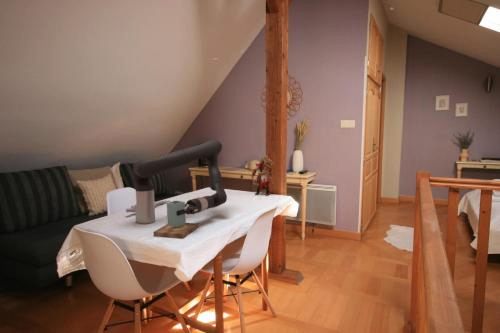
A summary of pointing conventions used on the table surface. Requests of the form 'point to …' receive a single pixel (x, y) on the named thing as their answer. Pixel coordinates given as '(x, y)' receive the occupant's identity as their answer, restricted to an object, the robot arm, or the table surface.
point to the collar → (175, 213)
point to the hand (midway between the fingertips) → (172, 212)
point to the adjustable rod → (154, 202)
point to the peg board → (176, 230)
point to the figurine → (263, 175)
